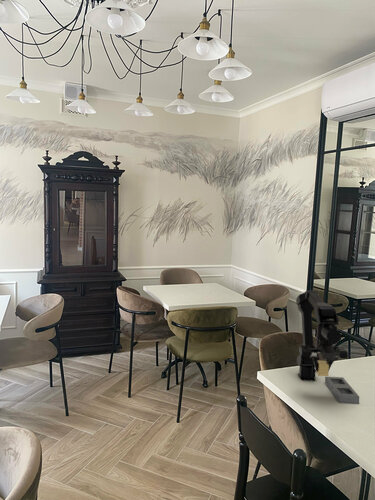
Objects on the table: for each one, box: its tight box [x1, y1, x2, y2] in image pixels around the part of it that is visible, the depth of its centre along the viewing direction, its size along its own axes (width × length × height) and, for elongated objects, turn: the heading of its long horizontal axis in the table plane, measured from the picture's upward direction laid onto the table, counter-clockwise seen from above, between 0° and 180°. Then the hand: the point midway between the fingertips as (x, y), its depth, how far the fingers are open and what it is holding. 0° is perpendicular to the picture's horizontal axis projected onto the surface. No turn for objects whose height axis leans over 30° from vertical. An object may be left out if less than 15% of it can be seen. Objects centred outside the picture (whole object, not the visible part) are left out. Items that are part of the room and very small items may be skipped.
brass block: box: [315, 359, 330, 377], centre depth 149 cm, size 4×4×5 cm
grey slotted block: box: [324, 376, 360, 405], centre depth 154 cm, size 8×18×3 cm, turn 176°
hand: (321, 371), depth 149 cm, fingers closed on brass block, 4 cm apart
